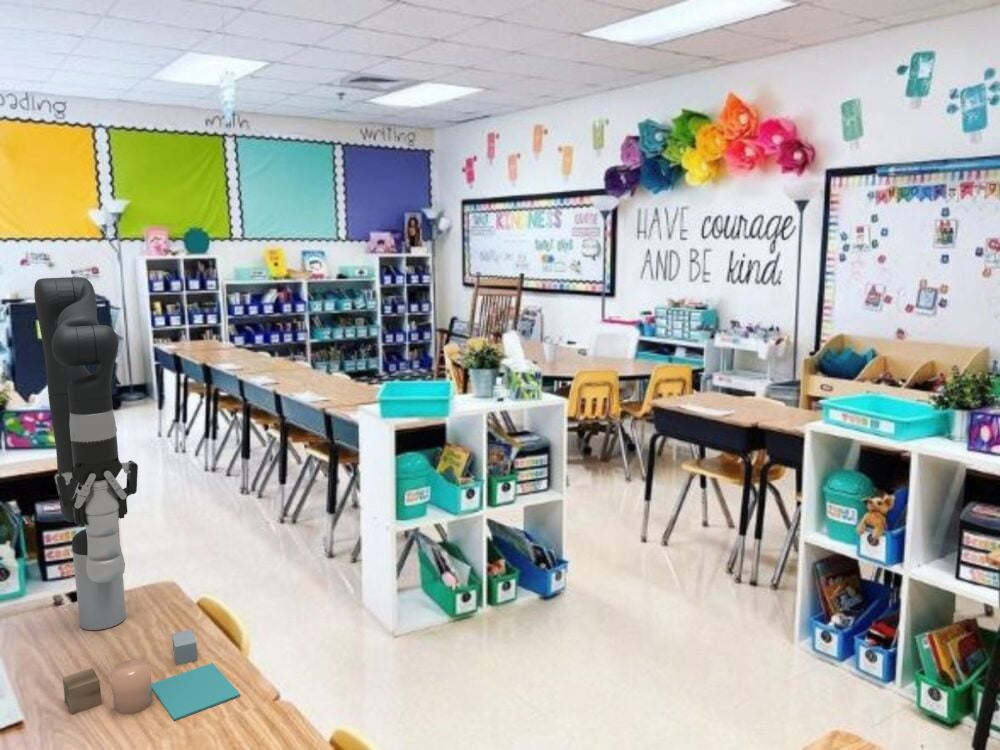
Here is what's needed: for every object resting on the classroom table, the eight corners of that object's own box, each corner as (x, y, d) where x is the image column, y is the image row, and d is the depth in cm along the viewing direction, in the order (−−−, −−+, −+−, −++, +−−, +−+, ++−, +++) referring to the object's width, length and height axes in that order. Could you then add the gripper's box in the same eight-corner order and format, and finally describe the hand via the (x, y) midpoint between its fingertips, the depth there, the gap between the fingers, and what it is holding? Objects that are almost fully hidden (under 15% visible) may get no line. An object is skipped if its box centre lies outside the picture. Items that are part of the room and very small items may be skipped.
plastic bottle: (111, 588, 148) (102, 485, 145) (79, 585, 150) (69, 482, 146) (133, 574, 154) (126, 474, 151) (102, 570, 156) (94, 471, 152)
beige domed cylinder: (109, 702, 147) (106, 667, 146) (146, 689, 151) (143, 655, 150) (119, 718, 142) (116, 682, 141) (157, 705, 146) (154, 670, 145)
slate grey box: (173, 651, 165) (171, 633, 164) (193, 647, 167) (192, 629, 166) (176, 665, 159) (174, 647, 159) (197, 660, 161) (196, 642, 161)
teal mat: (149, 686, 152) (149, 684, 152) (212, 664, 160) (212, 662, 159) (174, 720, 141) (174, 718, 141) (240, 696, 149) (240, 694, 149)
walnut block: (65, 702, 147) (62, 677, 146) (94, 692, 150) (92, 668, 149) (71, 715, 143) (68, 689, 142) (101, 704, 146) (99, 679, 145)
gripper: (129, 424, 154) (136, 507, 157) (45, 436, 145) (53, 524, 148) (141, 432, 148) (147, 518, 152) (54, 445, 139) (63, 536, 142)
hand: (101, 521), depth 150 cm, fingers closed on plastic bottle, 6 cm apart
